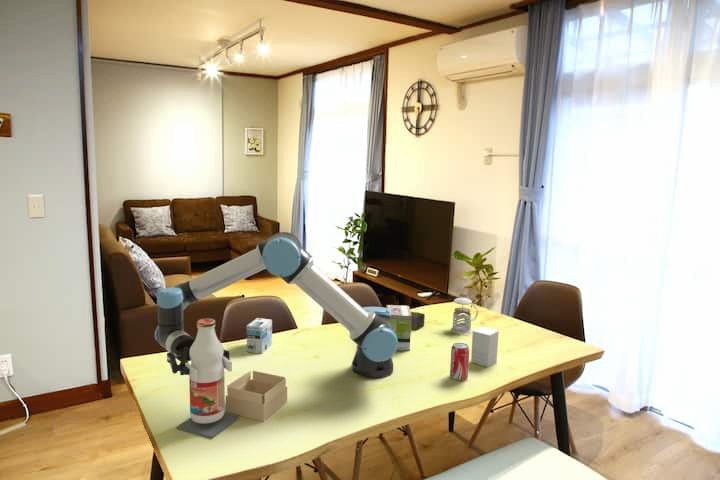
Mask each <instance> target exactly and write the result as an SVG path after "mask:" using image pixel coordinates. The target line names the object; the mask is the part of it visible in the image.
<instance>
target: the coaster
mask: <svg viewBox="0 0 720 480" xmlns="http://www.w3.org/2000/svg"><path fill="white" fill-rule="evenodd" d="M239 416H240V415H236V414H232V413H228V412H225V413H224V416H223V417H222V418H221V419H220V420H218V421H215V422H212V423H205V424H203V423H197V422H194V421H193V420H192V419H191V417H189V418H188V419H186V420H185V421H183V422H182V423H180V424H179V425H177V426H176V429H177V430H179V431H183V432H187V433H190V434H194V435H198V436H200V437H205V438H208V439H214V438H215V437H217V436H218V434H220V433H221V432H223V431H224V430H226V429H227V428H228V427H229V426H230V425H232V424H233V423H234V422H236V421H237V420H238V419H239V418H240V417H239Z"/></svg>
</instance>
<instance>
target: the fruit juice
mask: <svg viewBox="0 0 720 480" xmlns="http://www.w3.org/2000/svg"><path fill="white" fill-rule="evenodd" d="M215 327H216V320H215V319H214V318H206V317H205V318H200V319H198V320H197V321H196V328H197V333H196V337H195V338H194V339H195V341H194V343H193V344H192V346H191V347H190V351H189V356H190V359H191V361H190V363H191V364H190V365H191V366H192V367H194V368H195V369H196V370H197V380H196V381H194V380H193V379H192V378H191V377H190V376H189V375H188V379H189V381H188V382H189V415H190V418H191V419H192V420H193V421H194V422H197V423H203V424H205V423H212V422H215V421H218V420H220V419H221V418H222V417H223V416H224V413H226V395H225V394H226V392H225V388H226V387H225V385H226V384H225V368H224V364H223V362H222V357H223V353H224V350H225V349H224V346H223V344H222V343H221V341H220V340H219V338H218V337H217V334H216V329H215ZM223 349H224V350H223Z"/></svg>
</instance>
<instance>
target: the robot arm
mask: <svg viewBox="0 0 720 480" xmlns="http://www.w3.org/2000/svg"><path fill="white" fill-rule="evenodd" d="M263 270H267V271H268V272H269V273H270V274H271V275H273V276H275V277H279V278H281V279H282V280H283V281H284V282H285V283H286V284H288V285H296V286H297V287H298V288H299V289H300V290H302V291H303V292H304V293H305V294H306V295H307V296H308V297H309V298H311V299H312V300H313V301H314V302H315V303H317V304H318V306H320V307H321V308H322V309H323V310H324V311H326V312H327V313H328V314H329V315H330V316H332V317H333V319H334V320H336V321H337V322H338V323H339V324H340V325H341V326H343V327H344V328H345V329H346V330H347V331H348V332H349V339H350V340H352V342H354V343H355V344H356V351H355V352H354V356H353V359H352V361H351V371H352V372H353V373H354V374H355V375H357V376H360V377H363V378H368V379H370V378H371V379H379V378H385V377H389V376H390V375H392V373H394V366H395V365H394V361H393V358H392V357H393V356H395V353H396V352H397V351H398V350H397V347H398V339H397V336H396V333H395V332H394V330H393V328H392V326H391V324H390V318H391V312H390V310H389V309H387V308H386V307H382V306H363V307H362V306H361V305H360V304H359V303H358V302H356V301H355V300H354V299H353V298H352V297H351V296H350V295H349V294H348V293H347V292H345V291H344V290H343V289H342V288H341V287H340V286H339V285H337V283H335V282H334V281H333V280H332V279H331V278H330V277H328V275H327V274H325V273H324V272H323V271H322V270H321V269H320V268H319V267H317V266H316V265H315V264H314V257H313V256H312V255H311V254H310V253H309V252H308V251H307V250H306V249H305V248H304V247H302V243H301V242H300V240H299V238H298V237H297V236H296V235H294V234H293V233H290V232H288V231H281V232H277V233H275V234H273V235H272V236H270V237H269V238H267V239H266V240H264V241H262V242H260V243H257V245H256V248H254V249H252V250H250V251H248V252H247V253H244V254H242V255H240V256H238V257H236V258H233V259H232V260H229V261H227V262H225V263H223V264H221V265H219V266H216V267H215V268H212V269H211V270H208V271H206V272H204V273H202V274H200V275H197V276H196V277H193V278H191V279H190V280H188V281H185V282H181V283H179V284H178V283H177V285H175V286H174V287H165V288H162V289H160V290H158V291H157V299H156V303H157V322H158V323H157V324H158V325H157V327H156V328H155V330H154V339H155V340H156V341H157V343H158V345H159V346H161V347H162V348H164V349H165V351H167V353H166V361H167V363H168V364H169V365H170V368H171V372H172V374H177V373H178V372H179V376H184V375H185V376H188V377H189V376H190V377H191V378H192V379H193V380H194V381H196V380H197V370H196V369H195V368H194V367H192V366H191V364H190V363H189V362H191V359H190V356H189V351H190V347H191V346H192V344H193V343H194V341H195V339H196V338H194V337H192V336H191V335H190V334H188V333H187V332H186V331H184V312H185V311H184V310H186V308H187V307H189V305H192V304H194V303H196V302H198V301H200V300H201V299H204V298H206V297H208V296H210V295H212V294H215V293H217V292H219V291H221V290H223V289H225V288H227V287H229V286H232V285H234V284H236V283H237V282H240V281H242V280H244V279H247V278H248V277H250V276H253V275H255V274H258V273H259V272H261V271H263ZM223 350H224V353H223V357H222V362H223V364H224V370H225V369H226V370H227V372H229V373H230V372H233V361H231V360H230V351H229V350H226V349H224V348H223ZM177 360H178V362H180V363H179V364H178V363H177Z"/></svg>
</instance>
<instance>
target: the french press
mask: <svg viewBox="0 0 720 480" xmlns="http://www.w3.org/2000/svg"><path fill="white" fill-rule="evenodd" d="M461 280H463V282H465V281H466V280H467V277H466V276H463V277H462V278H461ZM462 293H463V294H462V296H461V297H456V298H455V299H454V300H453V302H454V304H458V305H462V307H456V308H454V309H453V310H454V311H453V316H452V318H453V319H452V327H451V328H450V329H451V330H450V332H452V331H453V332H452V333H454V332H455V333H454V334H457V333H459V334H458V335H469V334H473V330H472V329H471V326H472V322H473V321H475V320H476V319H477V318H478V316H479V315H478V313H479V311H478V309H477V307H476V305H474V304H472V303H473V301H472V300H471V299H469V298H467V297H464V295H465V289H463V291H462ZM464 305H467V306H468V305H470V308H471V309H472V308H473V307H474V308H475V310H476V314H475V316H474V317H473V318H472V314H471V309H470V308H466V307H464Z"/></svg>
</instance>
